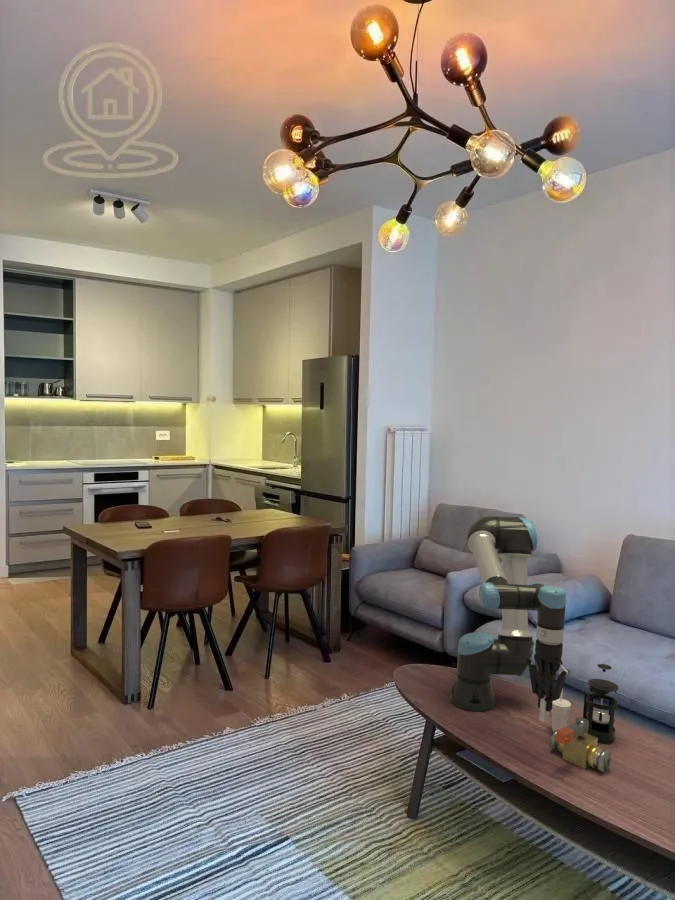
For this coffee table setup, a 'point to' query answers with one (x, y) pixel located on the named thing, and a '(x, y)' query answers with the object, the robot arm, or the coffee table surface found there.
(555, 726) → the smoothie
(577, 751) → the pipe valve
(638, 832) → the coffee table surface
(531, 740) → the coffee table surface
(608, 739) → the french press
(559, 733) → the lever
